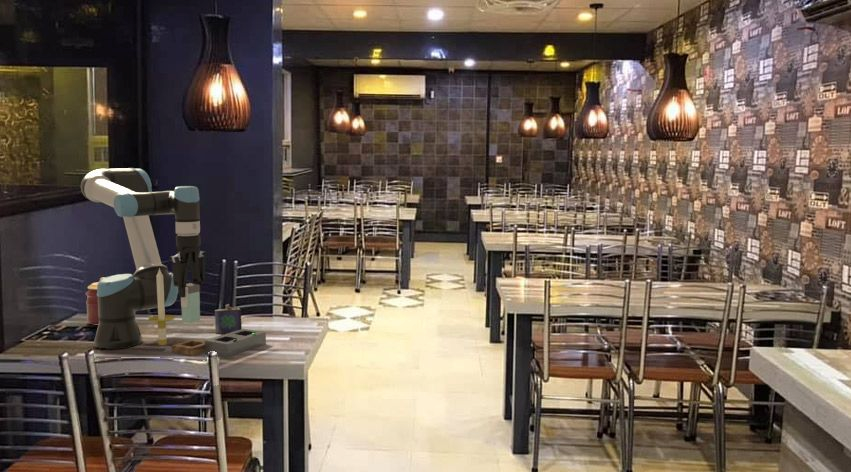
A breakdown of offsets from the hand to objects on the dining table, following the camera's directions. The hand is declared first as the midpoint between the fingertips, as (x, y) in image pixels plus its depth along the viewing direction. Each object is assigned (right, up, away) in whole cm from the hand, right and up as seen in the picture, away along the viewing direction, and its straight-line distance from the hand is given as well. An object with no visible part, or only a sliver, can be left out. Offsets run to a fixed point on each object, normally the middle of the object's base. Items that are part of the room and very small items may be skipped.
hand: (190, 305), depth 241 cm
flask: (+5, -13, +27) cm, 31 cm away
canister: (-47, -11, +45) cm, 66 cm away
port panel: (+14, -15, +4) cm, 21 cm away
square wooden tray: (0, -16, +2) cm, 16 cm away
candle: (-12, -15, +10) cm, 22 cm away
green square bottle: (0, -5, +1) cm, 5 cm away
